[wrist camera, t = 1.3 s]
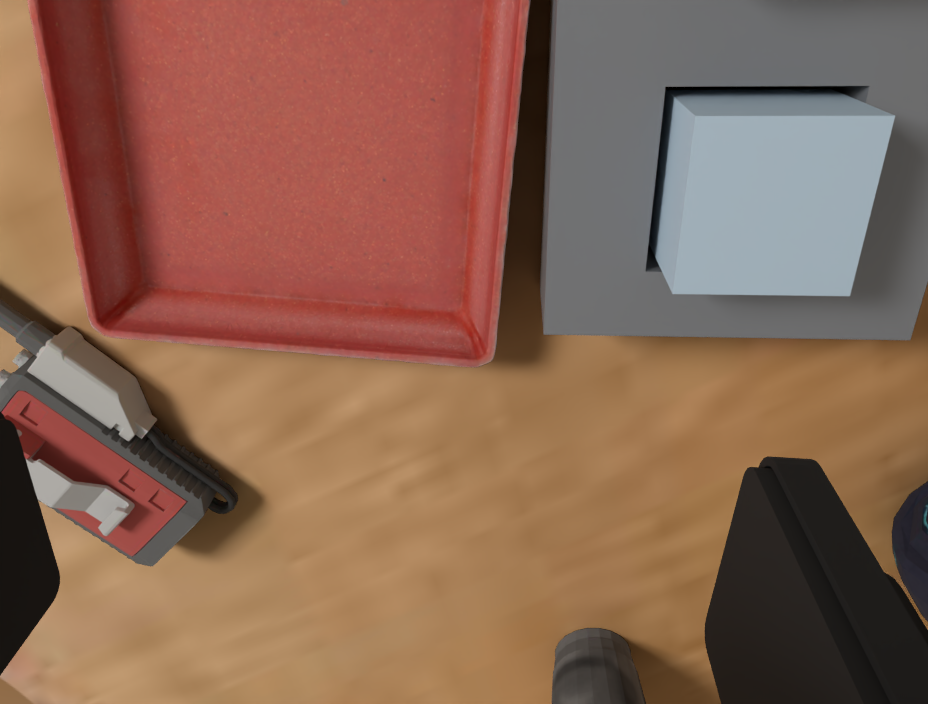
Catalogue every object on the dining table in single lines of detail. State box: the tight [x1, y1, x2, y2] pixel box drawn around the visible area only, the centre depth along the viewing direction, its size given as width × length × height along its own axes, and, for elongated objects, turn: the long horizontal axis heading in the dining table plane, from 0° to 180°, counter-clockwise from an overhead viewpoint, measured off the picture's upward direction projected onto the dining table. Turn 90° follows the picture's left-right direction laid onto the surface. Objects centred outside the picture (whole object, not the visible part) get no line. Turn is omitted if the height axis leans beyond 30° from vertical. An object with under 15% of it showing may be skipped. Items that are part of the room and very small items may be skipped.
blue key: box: [649, 89, 895, 296], centre depth 26 cm, size 6×6×5 cm
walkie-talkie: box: [0, 299, 238, 566], centre depth 37 cm, size 9×4×20 cm
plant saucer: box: [28, 0, 531, 367], centre depth 30 cm, size 18×18×3 cm
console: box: [540, 0, 928, 340], centre depth 26 cm, size 22×14×5 cm, turn 1°
